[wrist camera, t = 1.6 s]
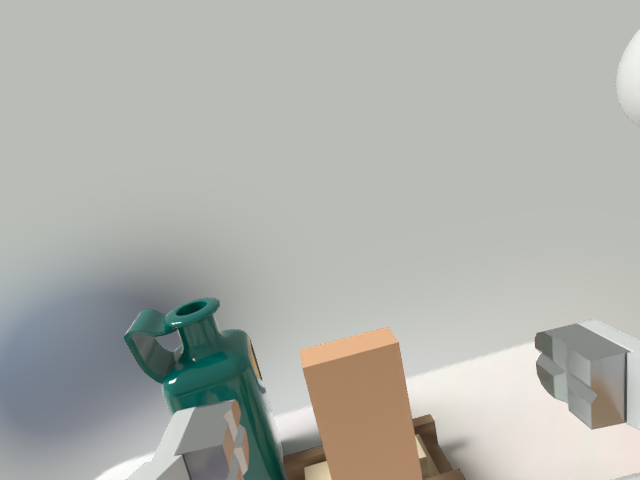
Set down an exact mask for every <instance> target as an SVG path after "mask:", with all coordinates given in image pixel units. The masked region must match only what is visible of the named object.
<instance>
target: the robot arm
mask: <svg viewBox="0 0 640 480" xmlns="http://www.w3.org/2000/svg"><path fill="white" fill-rule="evenodd" d="M616 90H617V97H618V100H619V104H620V106H621V108H622V110H623V111H624V113H625V114H626V115H627V117H628V118H629V119H630V120H631V121H632V122H633V123H634V124H635V125H637V126H638V127H639V128H640V29H639V30H638V32H637V33H636V34H635V35H634V37H633V38H632V40H631V41H630V43H629V44H628V46H627V48H626V50H625V51H624V53H623V56H622V58H621V61H620V63H619V67H618V71H617V77H616ZM535 348H536V349H537V350H538V351H539V352H540V353H541V355H540V356H539V358H538V360H537V362H536V367H537V375H538V377H539V379H540V381H541V384H542V385H543V387H544V388H545V389H546V391H547V392H548V393H549V394H550V395H552V396H553V397H554V398H555V399H558V400H561V401H564V402H566V403H568V408H569V411H570V412H571V413H573V414H574V415H575V416H576V417H577V418H579V419H580V420H581V421H582V422H583V423H584V424H586V425H587V426H588V427H589V428H590V429H597V428H602V427H607V426H612V425H617V424H621V423H626V422H627V425H630V426H632V427H634V428H636V429H639V430H640V341H639V340H637V339H635V338H633V337H631V336H629V335H627V334H625V333H623V332H620V331H619V330H616V329H614V328H612V327H610V326H608V325H606V324H604V323H602V322H599V321H598V320H586V321H582V322H579V323H575V324H572V325H568V326H564V327H560V328H556V329H552V330H547V331H544V332H539V333H537V334H536V337H535ZM240 417H241V411H240V408H239V404H238V402H237V401H236V400H235V399H233V400H228V401H223V402H218V403H213V404H208V405H203V406H198V407H193V408H188V409H184V410H180V411H177V412H176V413H174V415H173V417H172V419H171V421H170V423H169V425H168V428H167V429H166V431H165V434H164V436H163V438H162V440H161V442H160V444H159V446H158V448H157V450H156V452H155V455H154V457H153V459H152V461H151V462H147V463H144V464H143V465H142V466H141V467H140V468H138V469H137V470H136V471H135V472H134V473H133V474H132V475H130V476H129V477H128V478H127V479H126V480H244V478H243V475H244V474H245V473H246V471H247V470H248V464H249V445H248V438H247V434H246V430H245V428H244V427H243V426H242V425H240V424H239V422H240ZM612 480H640V473H636V474H632V475H628V476H624V477H620V478H616V479H612Z"/></svg>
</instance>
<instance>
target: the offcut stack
mask: <svg viewBox="0 0 640 480" xmlns="http://www.w3.org/2000/svg"><path fill="white" fill-rule="evenodd" d="M415 438H416V444H417V450H418V455H419V461H420V467H421V472H422V478H423V480H424V479H428V478H431V477H434V476H438V475H440V473H439V472H438V470H437V468H436V466H435V464H434V462H433V460H432V458H431V456H430V454H429V453H428V451H427V449H426V447H425V445H424V443H423V441H422V439H421V437H420V436H419V434H417V435H415ZM304 470H305V480H332V479H331V475H330V472H329V468H328V464H327V461H325V462H321V463H318V464H314V465H311V466H308V467H304Z"/></svg>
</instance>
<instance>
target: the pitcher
mask: <svg viewBox="0 0 640 480" xmlns="http://www.w3.org/2000/svg"><path fill="white" fill-rule="evenodd" d="M219 307H220V301H219V300H218V299H216V298H210V297H206V298H199V299H195V300H192V301H189V302H186V303H184V304H181V305H180V306H178V307H176V308H174V309H173V310H171V311H170V312H169V313H168V314H167V315H163V314H161V313H159V312H158V311H156V310H153V309H147V310H143V311H141V312H140V313H139V315H138V316H137V318H136V319H135V321H134V322H133V324H132V325H131V327H130V329H129V330H128V331H127V333H126V334H125V336H124V339H125V341H126V343H127V345H128V347H129V349H130V350H131V352H132V354H133V355H134V357H135V359H136V361H137V362H138V364H139V366H140V367H141V368H142V370H143V371H144V372H145V373H146V374H147V375H148V376H150V377H151V378H152V379H154V380H155V381H157V382H159V383H161V384H162V394H163V397H164V399H165V402H166V404H167V407H168V409H169V412H170V415H171V417H173V415H174V413H176V412H177V411H180V410H184V409H188V408H193V407H198V406H203V405H208V404H213V403H218V402H223V401H228V400H233V399H235V400H236V401H237V402H238V404H239V408H240V411H241V417H240V422H239V424H240V425H242V426H243V427H244V428H245V430H246V434H247V438H248V445H249V464H248V470H247V471H246V473H245V474H244V475H243V478H244V480H288V479H287V476H286V472H285V469H284V466H283V456H284V453H283V447H282V443H281V440H280V437H279V433H278V430H277V427H276V423H275V420H274V416H273V413H272V410H271V407H270V403H269V400H268V396H267V393H266V390H265V386H264V383H263V380H262V377H261V373H260V370H259V367H258V363H257V359H256V356H255V353H254V349H253V346H252V343H251V340H250V337H249V336H248V335H247V333H245V332H244V331H243V330H240V329H227V330H224V331H220V330H219V327H218V324H217V321H216V318H215V315H214V313H215V312H216V311H217V310H218V308H219ZM176 330H178V333H179V336H180V339H181V341H182V345H181V346H180V347H178V348H177V349H176V350H175V351H174V352H170V351H167V350H165V349H164V348H162V346H161V345H159V343H158V342H157V341H156V339H155V338H154V337H157V336H163V335H167V334H170V333H172V332H174V331H176Z"/></svg>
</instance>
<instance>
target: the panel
mask: <svg viewBox="0 0 640 480" xmlns="http://www.w3.org/2000/svg"><path fill="white" fill-rule="evenodd" d="M300 354H301V361H302V368H303V372H304V376H305V380H306V383H307V387H308V391H309V395H310V399H311V403H312V406H313V410H314V414H315V418H316V422H317V426H318V429H319V433H320V437H321V441H322V445H323V449H324V452H325V456H326V460H327V464H328V468H329V472H330V475H331V479H332V480H423V478H422V472H421V467H420V461H419V455H418V450H417V444H416V438H415V433H414V427H413V421H412V416H411V410H410V404H409V398H408V393H407V387H406V381H405V376H404V370H403V364H402V359H401V353H400V348H399V342H398V341H397V339H396V338H395V336H394V335H393V333H392V332H391V330H390V329H389V327H385V328H381V329H378V330H374V331H370V332H366V333H363V334H359V335H355V336H351V337H348V338H344V339H340V340H336V341H333V342H329V343H325V344H321V345H318V346H314V347H310V348H306V349H303V350H300Z"/></svg>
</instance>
